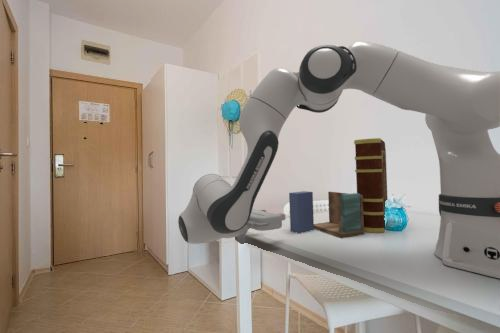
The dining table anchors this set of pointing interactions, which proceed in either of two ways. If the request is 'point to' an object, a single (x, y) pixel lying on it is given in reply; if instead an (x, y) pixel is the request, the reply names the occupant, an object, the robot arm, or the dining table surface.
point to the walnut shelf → (344, 215)
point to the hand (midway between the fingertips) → (274, 214)
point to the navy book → (301, 211)
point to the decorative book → (372, 181)
